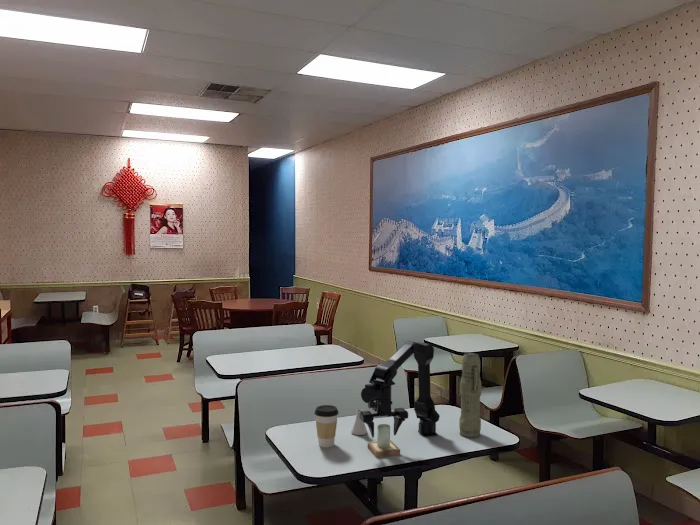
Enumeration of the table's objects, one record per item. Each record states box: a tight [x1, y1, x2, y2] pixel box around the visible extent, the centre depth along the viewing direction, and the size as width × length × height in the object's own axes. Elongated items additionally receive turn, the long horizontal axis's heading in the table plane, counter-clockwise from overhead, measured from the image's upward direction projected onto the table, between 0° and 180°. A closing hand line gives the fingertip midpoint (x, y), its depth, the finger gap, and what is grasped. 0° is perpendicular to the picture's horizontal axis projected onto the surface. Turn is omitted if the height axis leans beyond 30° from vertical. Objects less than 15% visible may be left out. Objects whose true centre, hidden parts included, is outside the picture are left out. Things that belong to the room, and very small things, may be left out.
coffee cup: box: [313, 404, 339, 448], centre depth 229 cm, size 10×10×15 cm
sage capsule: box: [376, 423, 391, 448], centre depth 223 cm, size 5×5×8 cm
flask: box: [350, 408, 368, 436], centre depth 243 cm, size 7×7×10 cm
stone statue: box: [458, 352, 482, 439], centre depth 241 cm, size 9×12×35 cm
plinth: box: [367, 439, 401, 458], centre depth 223 cm, size 10×10×2 cm
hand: (383, 436), depth 223 cm, fingers open, 9 cm apart
